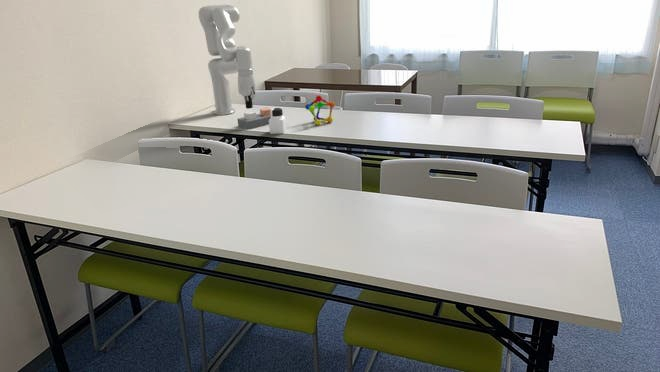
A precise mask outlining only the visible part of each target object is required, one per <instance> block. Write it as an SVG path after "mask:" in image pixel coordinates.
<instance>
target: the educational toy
mask: <svg viewBox="0 0 660 372" xmlns="http://www.w3.org/2000/svg"><path fill="white" fill-rule="evenodd" d="M323 102H324V103H323ZM323 106H326V107H328V106H329V108H330V110H329V116H328V117H320V116H319V115H320V111H321V108H323ZM335 106H336V105H335V102H334V101H330V102H329V101H327V100H325V99H323V98H322V96H321V94H320V95H319V94H318V95H316V97H315V100H314V101H312V102H311V103H307V104H305V109H306V110H308V111H309V112H310V113H311V115H312V117H313V121H314V125H315V126H320V124H321V123H324V122H325V123H326V122H327V123H333V119H334V118H333V117H332V113H333V108H335ZM316 107H318V109H317V113H316V114H315V108H316Z"/></svg>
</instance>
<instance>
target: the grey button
mask: <svg viewBox="0 0 660 372" xmlns="http://www.w3.org/2000/svg"><path fill="white" fill-rule="evenodd" d="M256 114H257V113H256V112H255V111H251V110H250V111H245V112H243V116H244V118H245V119H247V120H252V119H256Z"/></svg>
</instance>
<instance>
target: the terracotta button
mask: <svg viewBox="0 0 660 372" xmlns="http://www.w3.org/2000/svg"><path fill="white" fill-rule="evenodd" d="M271 109H272V108H268V107H265V108H260V109H259V114H260V115H262V116H269V115H271V114H270V110H271Z"/></svg>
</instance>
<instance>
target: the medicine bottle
mask: <svg viewBox="0 0 660 372" xmlns="http://www.w3.org/2000/svg"><path fill="white" fill-rule="evenodd" d="M270 109H271V110H270V114H271V118H270V119H269V124H268V125H269V126H268V127H269V129H268V130H269V134H272V135H274V134H277V135H278V134H280V135H281V134H284V133H286V131H287V123H286V116H284V113H283V109H282V108H281V107H273V108H270Z"/></svg>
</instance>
